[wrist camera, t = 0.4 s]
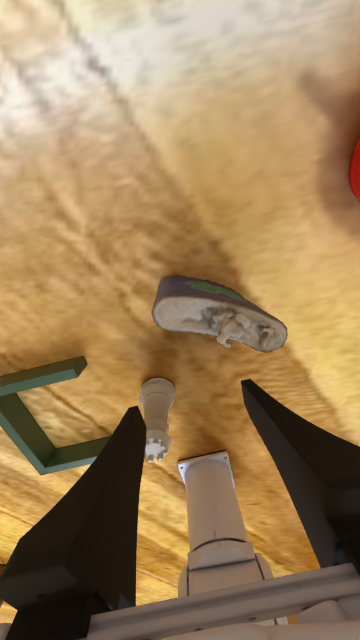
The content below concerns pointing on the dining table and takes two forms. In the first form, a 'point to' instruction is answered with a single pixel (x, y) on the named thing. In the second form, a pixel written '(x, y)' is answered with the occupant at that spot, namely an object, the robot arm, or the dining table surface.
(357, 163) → the ceramic cup
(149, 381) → the rook chess piece
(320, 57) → the dining table surface
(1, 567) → the utensil holder
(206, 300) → the flask
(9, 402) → the bay
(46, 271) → the dining table surface
